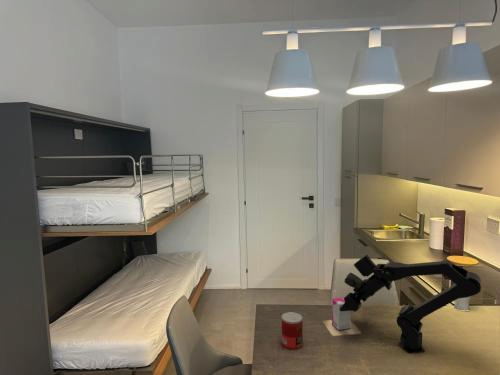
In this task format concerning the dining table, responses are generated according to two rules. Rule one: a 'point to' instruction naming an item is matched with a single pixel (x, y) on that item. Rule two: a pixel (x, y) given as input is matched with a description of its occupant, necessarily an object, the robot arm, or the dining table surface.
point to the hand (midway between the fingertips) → (344, 305)
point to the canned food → (292, 330)
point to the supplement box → (340, 315)
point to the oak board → (339, 333)
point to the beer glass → (462, 303)
